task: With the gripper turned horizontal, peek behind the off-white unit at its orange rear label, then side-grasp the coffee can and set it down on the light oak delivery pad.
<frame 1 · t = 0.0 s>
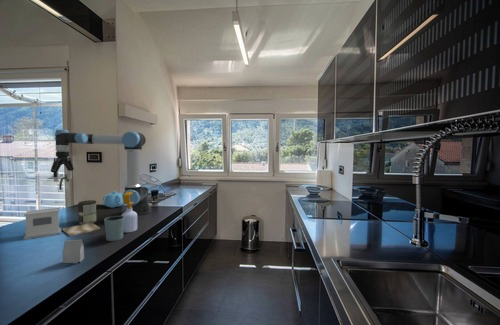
hand: (63, 180, 168), 28 cm above the counter, tool pointing down, fingers open, 13 cm apart
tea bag: (73, 262, 105), on the counter
coffee can: (87, 221, 163), on the counter
spray bottle: (129, 230, 147), on the counter
green tapered cup: (114, 238, 134), on the counter
label unit: (43, 234, 137), on the counter
decorative pot: (114, 206, 206), on the counter
delivery pad: (81, 229, 146), on the counter
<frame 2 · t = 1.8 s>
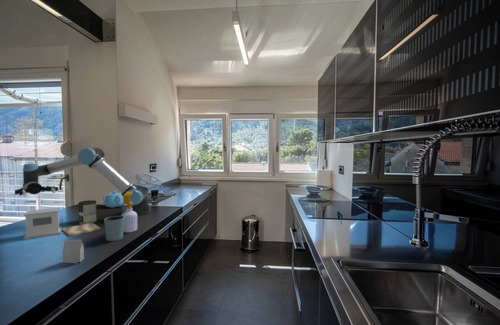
hand: (40, 192, 141), 24 cm above the counter, tool horizontal, fingers open, 13 cm apart
nothing on the counter moved.
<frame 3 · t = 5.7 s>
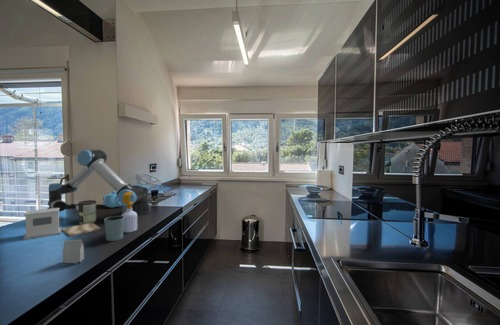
hand: (67, 210, 159), 8 cm above the counter, tool horizontal, fingers open, 13 cm apart
nothing on the counter moved.
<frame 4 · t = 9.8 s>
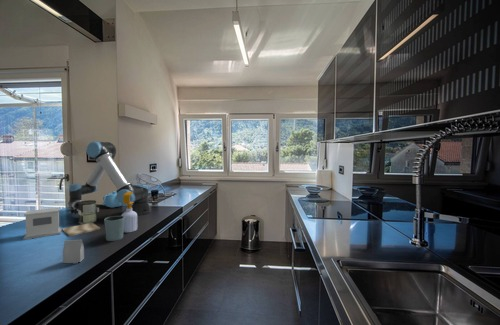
hand: (89, 211, 160), 8 cm above the counter, tool horizontal, fingers closed on coffee can, 10 cm apart
coffee can: (87, 221, 163), on the counter, touching gripper
everything else where it was.
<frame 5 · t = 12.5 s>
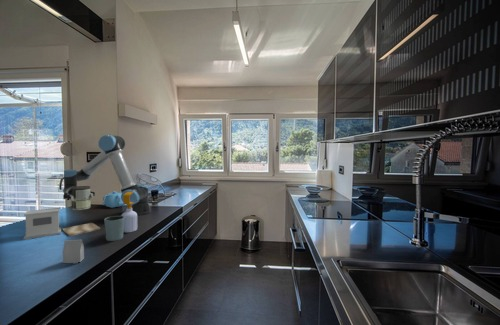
hand: (82, 197, 150), 20 cm above the counter, tool horizontal, fingers closed on coffee can, 10 cm apart
coffee can: (81, 208, 153), point 12 cm above the counter, touching gripper
everything else where it was.
when the fingers open (10 cm above the counter, at t = 15.5 s): coffee can stays where it is, resting on delivery pad.
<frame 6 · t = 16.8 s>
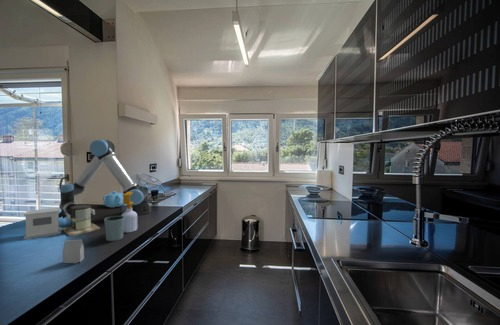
hand: (82, 214, 145), 10 cm above the counter, tool horizontal, fingers open, 13 cm apart
coffee can: (81, 228, 146), point 1 cm above the counter, touching delivery pad
everything else where it was.
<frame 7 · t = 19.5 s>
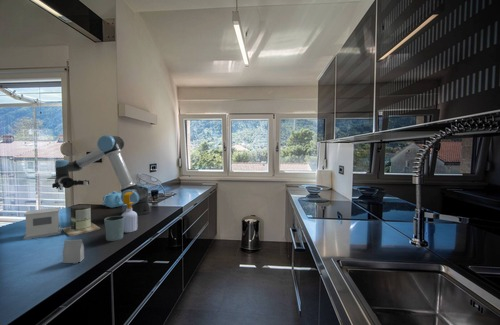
hand: (75, 185, 151), 27 cm above the counter, tool horizontal, fingers open, 13 cm apart
nothing on the counter moved.
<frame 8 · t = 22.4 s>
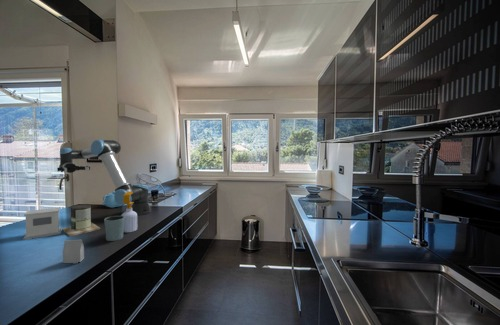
hand: (77, 169, 170), 36 cm above the counter, tool horizontal, fingers open, 13 cm apart
nothing on the counter moved.
at the end: coffee can inside the target area on the delivery pad (0.1 cm from its centre), point 0.8 cm above the delivery pad's base; coffee can tilted 0°; the gripper is holding nothing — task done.
